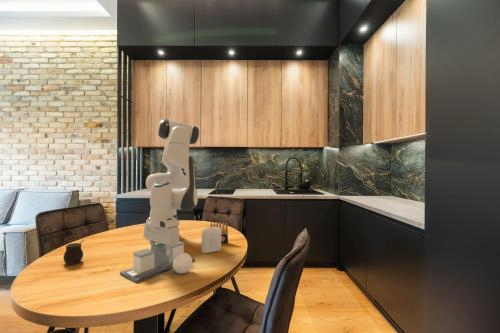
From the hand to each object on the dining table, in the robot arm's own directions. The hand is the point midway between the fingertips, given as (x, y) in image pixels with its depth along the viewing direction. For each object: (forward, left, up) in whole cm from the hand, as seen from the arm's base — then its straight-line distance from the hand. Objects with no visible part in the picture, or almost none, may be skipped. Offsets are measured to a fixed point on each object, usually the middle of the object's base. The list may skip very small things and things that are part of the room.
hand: (160, 252), depth 108 cm
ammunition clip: (-4, +41, -7) cm, 42 cm away
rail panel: (0, 0, -6) cm, 6 cm away
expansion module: (0, 0, -5) cm, 5 cm away
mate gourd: (-34, -20, -6) cm, 40 cm away
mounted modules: (0, 0, -5) cm, 5 cm away
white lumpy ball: (+12, +2, -6) cm, 14 cm away
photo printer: (+3, +28, -6) cm, 29 cm away
